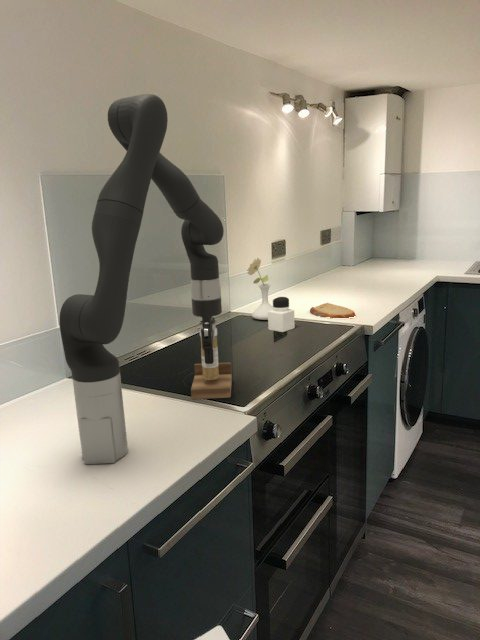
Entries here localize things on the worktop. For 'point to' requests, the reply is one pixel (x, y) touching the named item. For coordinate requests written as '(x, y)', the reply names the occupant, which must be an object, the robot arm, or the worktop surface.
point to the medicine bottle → (281, 315)
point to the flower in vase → (265, 306)
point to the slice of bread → (332, 311)
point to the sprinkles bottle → (212, 369)
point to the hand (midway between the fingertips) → (210, 360)
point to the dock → (212, 383)
